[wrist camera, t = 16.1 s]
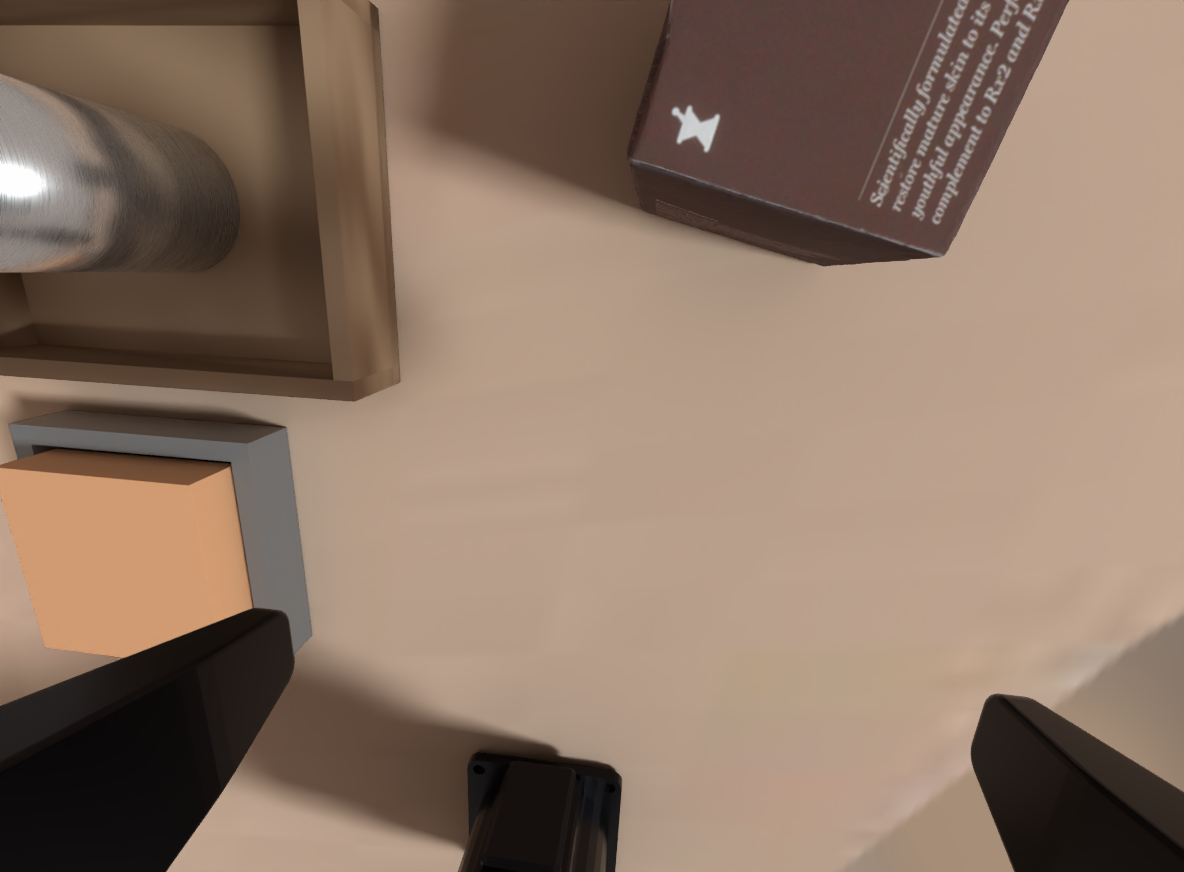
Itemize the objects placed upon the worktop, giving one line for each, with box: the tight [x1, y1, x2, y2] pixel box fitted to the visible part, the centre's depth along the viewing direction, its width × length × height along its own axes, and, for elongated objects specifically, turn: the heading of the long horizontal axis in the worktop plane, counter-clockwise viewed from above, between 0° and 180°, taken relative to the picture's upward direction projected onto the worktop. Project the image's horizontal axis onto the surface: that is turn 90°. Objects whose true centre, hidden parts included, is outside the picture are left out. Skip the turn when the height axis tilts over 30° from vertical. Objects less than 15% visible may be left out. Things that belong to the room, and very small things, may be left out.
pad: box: [0, 449, 254, 658], centre depth 19 cm, size 7×7×2 cm
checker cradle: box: [8, 410, 312, 654], centre depth 21 cm, size 9×9×2 cm
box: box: [628, 0, 1069, 266], centre depth 12 cm, size 6×6×7 cm
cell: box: [0, 74, 240, 273], centre depth 14 cm, size 4×4×8 cm
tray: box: [0, 0, 400, 401], centre depth 17 cm, size 11×14×3 cm
